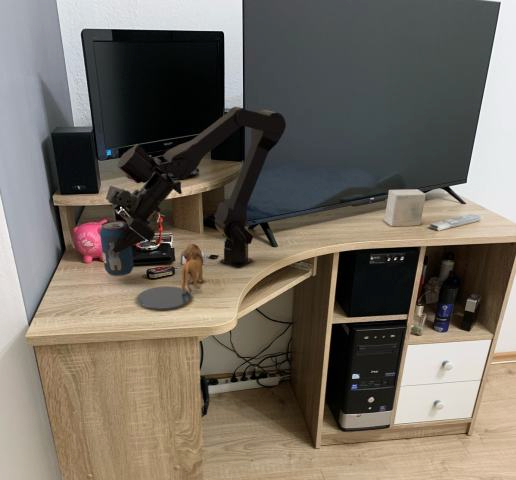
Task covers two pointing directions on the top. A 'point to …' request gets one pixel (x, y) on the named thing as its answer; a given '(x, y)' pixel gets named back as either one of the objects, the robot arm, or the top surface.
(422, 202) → the cosmetics box
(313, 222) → the top surface
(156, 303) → the coaster
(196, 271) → the lion figurine
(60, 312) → the top surface
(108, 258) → the soda can
